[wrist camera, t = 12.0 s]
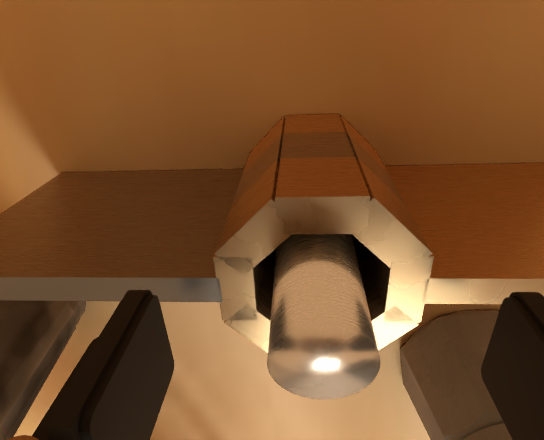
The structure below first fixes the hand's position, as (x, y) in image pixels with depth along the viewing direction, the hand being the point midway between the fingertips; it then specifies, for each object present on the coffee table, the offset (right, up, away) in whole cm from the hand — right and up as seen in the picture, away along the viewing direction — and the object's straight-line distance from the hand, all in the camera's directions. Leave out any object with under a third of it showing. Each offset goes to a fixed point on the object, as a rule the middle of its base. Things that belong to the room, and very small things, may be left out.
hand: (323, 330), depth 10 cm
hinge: (+1, +5, +10) cm, 11 cm away
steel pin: (+1, +5, +10) cm, 11 cm away
